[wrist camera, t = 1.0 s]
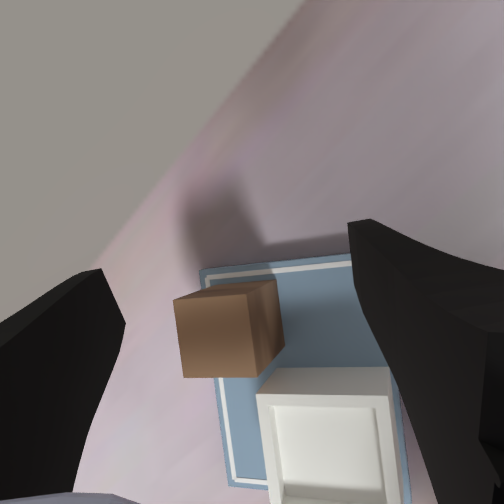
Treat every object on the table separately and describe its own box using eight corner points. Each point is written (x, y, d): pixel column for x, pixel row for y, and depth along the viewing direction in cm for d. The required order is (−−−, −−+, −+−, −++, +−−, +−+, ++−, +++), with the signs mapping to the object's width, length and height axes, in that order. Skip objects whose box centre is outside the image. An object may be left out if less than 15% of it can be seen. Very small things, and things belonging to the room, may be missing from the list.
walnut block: (285, 346, 23) (257, 377, 19) (223, 347, 25) (183, 377, 20) (276, 279, 23) (246, 293, 19) (215, 284, 25) (172, 300, 20)
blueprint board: (411, 493, 23) (414, 561, 18) (234, 476, 26) (201, 529, 22) (381, 249, 22) (377, 257, 18) (206, 268, 26) (166, 278, 22)
